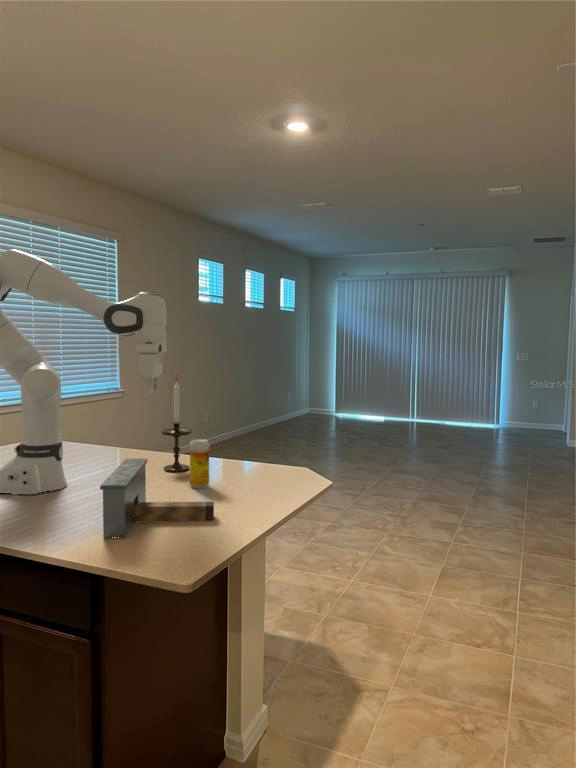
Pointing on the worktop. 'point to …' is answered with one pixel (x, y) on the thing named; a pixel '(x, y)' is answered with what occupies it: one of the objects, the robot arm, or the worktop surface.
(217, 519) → the worktop surface
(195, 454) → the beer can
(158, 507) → the rod
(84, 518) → the worktop surface
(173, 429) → the candlestick
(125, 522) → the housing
